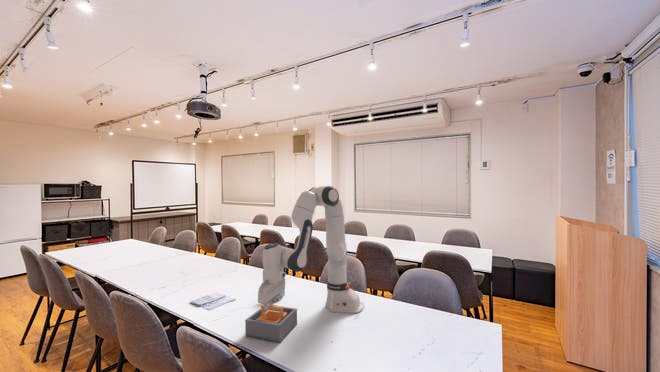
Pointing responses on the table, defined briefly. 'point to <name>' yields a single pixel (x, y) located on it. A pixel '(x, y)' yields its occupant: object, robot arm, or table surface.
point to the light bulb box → (280, 295)
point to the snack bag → (206, 300)
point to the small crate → (272, 314)
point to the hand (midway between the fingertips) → (272, 305)
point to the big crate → (271, 326)
